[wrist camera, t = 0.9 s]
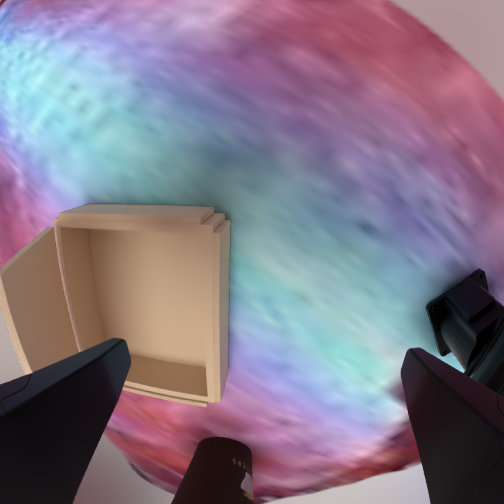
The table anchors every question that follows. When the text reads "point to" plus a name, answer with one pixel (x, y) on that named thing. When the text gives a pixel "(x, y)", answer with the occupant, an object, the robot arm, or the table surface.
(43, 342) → the flap
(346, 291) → the table surface
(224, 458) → the coffee mug
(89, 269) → the kraft box
